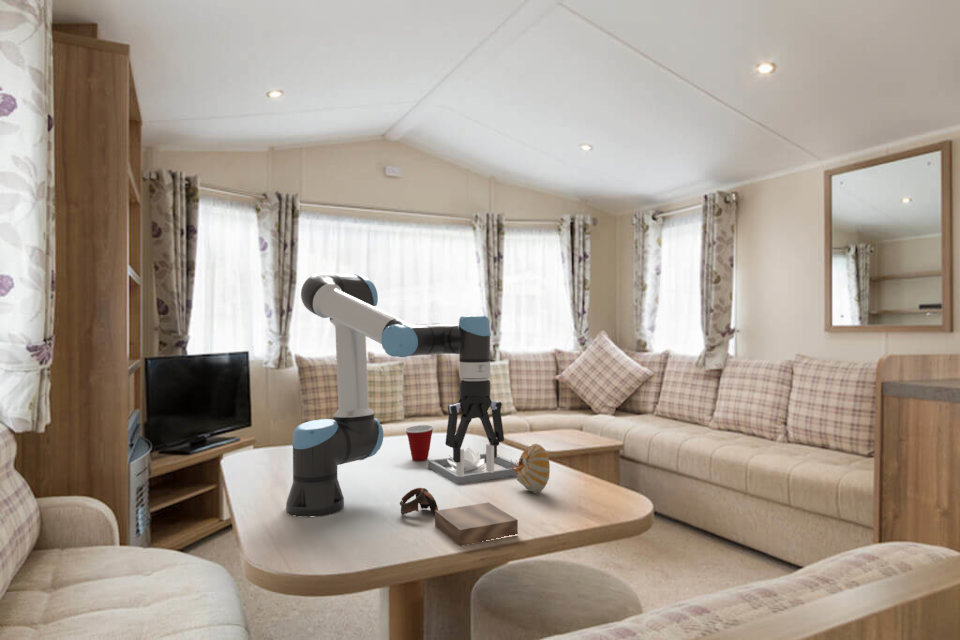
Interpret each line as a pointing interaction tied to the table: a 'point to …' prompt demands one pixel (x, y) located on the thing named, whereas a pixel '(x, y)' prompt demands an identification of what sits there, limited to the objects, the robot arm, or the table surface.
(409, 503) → the broken clay pottery vessel
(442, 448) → the table surface
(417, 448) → the plastic cup
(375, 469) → the table surface
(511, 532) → the brown wooden square block
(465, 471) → the lotus flower
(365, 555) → the table surface
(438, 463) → the slate frame
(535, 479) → the nautilus
